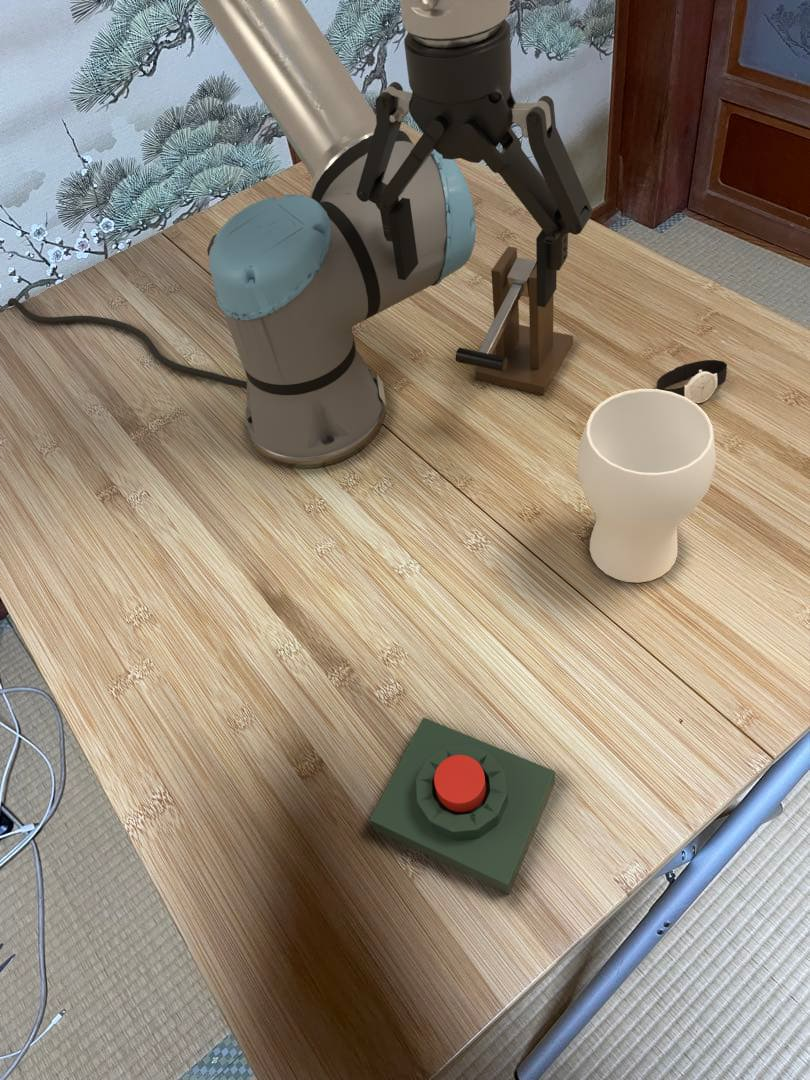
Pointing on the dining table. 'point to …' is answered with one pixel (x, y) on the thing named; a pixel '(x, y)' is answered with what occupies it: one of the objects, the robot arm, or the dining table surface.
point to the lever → (500, 319)
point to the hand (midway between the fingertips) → (475, 284)
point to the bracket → (525, 337)
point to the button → (460, 783)
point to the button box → (474, 836)
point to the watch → (696, 379)
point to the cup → (643, 478)
